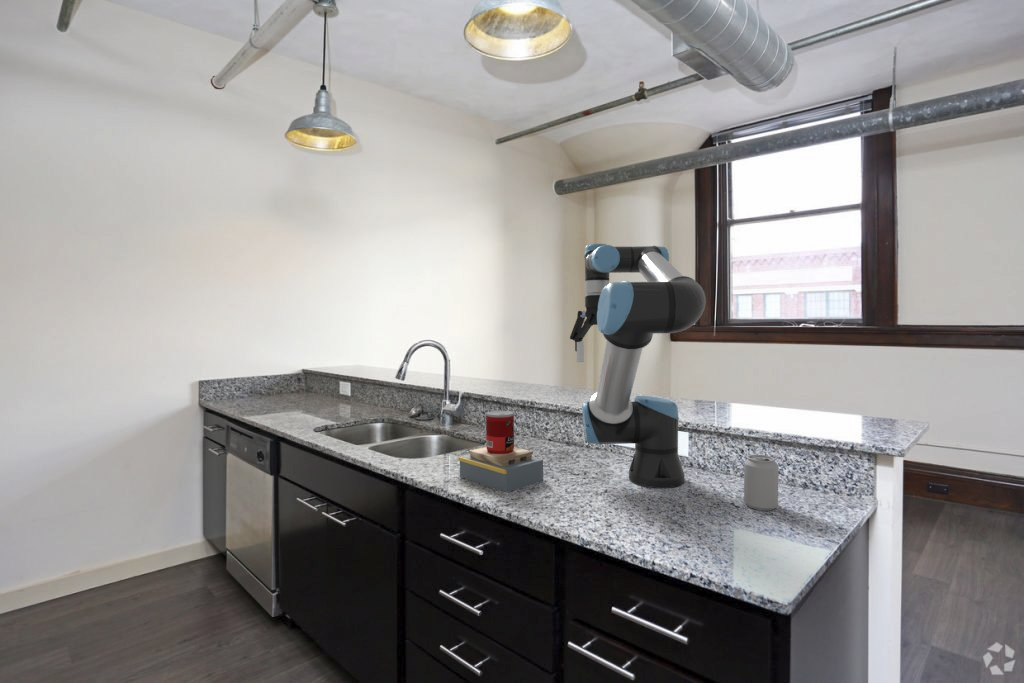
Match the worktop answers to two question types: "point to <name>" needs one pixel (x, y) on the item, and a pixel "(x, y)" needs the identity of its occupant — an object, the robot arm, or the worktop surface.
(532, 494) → the worktop surface
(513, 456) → the pallet
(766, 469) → the can
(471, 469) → the dock
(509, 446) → the canned food
